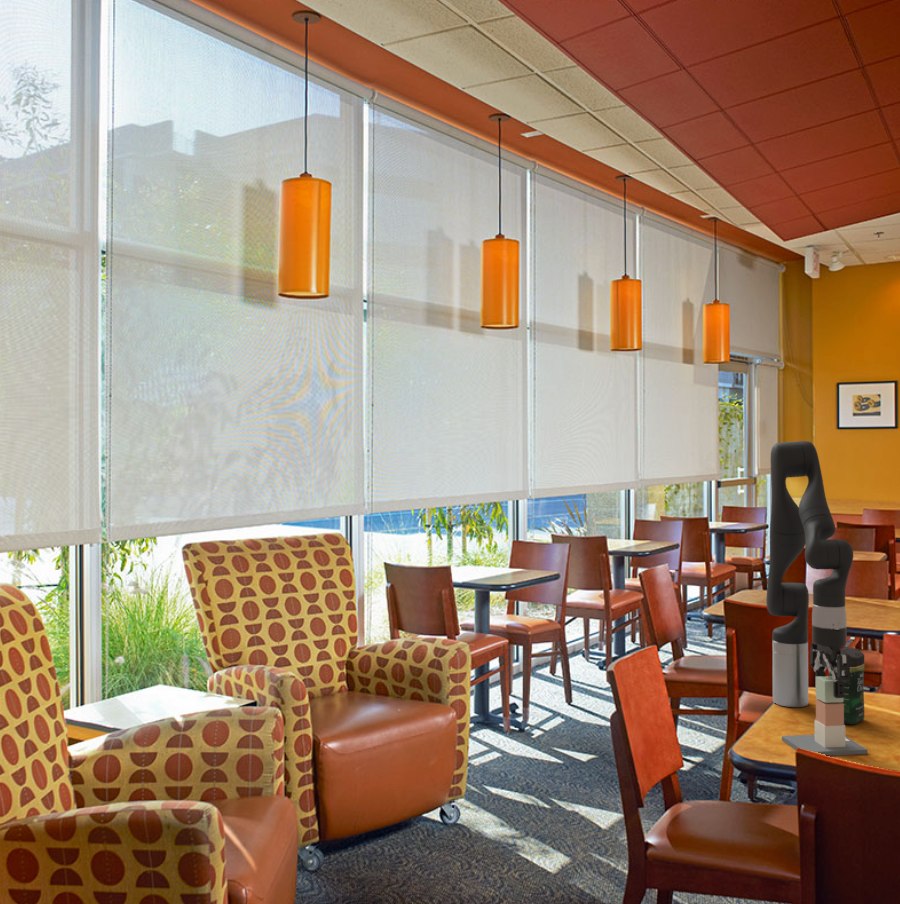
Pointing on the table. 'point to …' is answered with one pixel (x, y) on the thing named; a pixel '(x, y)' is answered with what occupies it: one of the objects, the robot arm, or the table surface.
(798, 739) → the build board
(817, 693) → the brick sage
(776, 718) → the table surface
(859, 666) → the coffee jar
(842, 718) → the brick terracotta
